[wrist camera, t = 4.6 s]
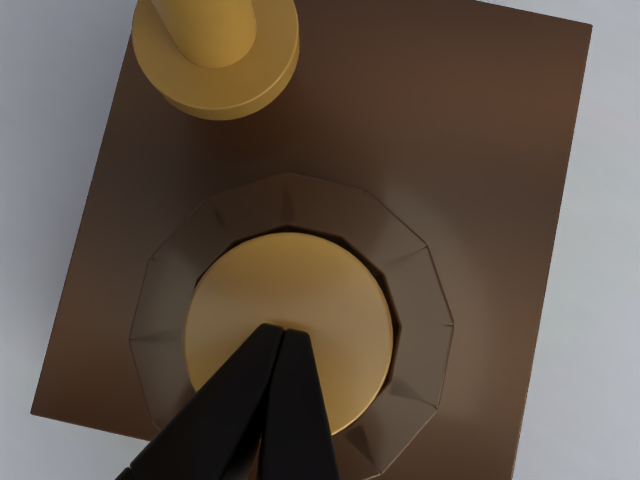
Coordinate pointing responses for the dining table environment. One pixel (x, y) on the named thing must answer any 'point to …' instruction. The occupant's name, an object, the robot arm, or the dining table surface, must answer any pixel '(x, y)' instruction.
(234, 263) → the button
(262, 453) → the robot arm
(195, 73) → the desk lamp
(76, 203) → the dining table surface
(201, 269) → the lamp base
